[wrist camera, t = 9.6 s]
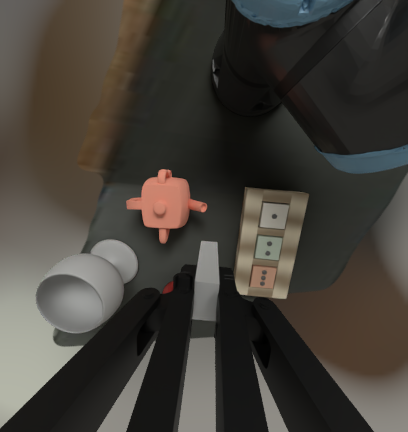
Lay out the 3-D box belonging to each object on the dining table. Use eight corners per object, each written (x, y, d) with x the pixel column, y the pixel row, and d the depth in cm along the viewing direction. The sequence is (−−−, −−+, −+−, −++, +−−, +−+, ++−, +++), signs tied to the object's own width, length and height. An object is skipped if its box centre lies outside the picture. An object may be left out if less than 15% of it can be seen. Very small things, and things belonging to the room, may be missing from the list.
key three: (250, 259, 44) (253, 266, 41) (272, 261, 44) (277, 269, 41) (247, 278, 45) (250, 287, 42) (269, 281, 45) (273, 289, 42)
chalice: (140, 291, 48) (108, 345, 33) (86, 282, 48) (31, 331, 33) (145, 240, 44) (111, 275, 30) (86, 230, 44) (24, 260, 30)
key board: (245, 187, 40) (247, 188, 37) (302, 192, 40) (309, 193, 37) (231, 285, 46) (233, 293, 43) (281, 290, 46) (286, 299, 43)
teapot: (209, 201, 41) (209, 211, 32) (170, 234, 44) (158, 252, 34) (174, 159, 40) (162, 157, 30) (134, 195, 42) (112, 203, 32)
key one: (260, 200, 40) (263, 203, 37) (283, 202, 40) (289, 205, 37) (256, 222, 42) (260, 227, 39) (279, 224, 42) (284, 229, 38)
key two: (255, 231, 42) (258, 236, 39) (277, 233, 42) (283, 238, 39) (252, 252, 43) (255, 258, 40) (274, 254, 43) (278, 260, 40)
